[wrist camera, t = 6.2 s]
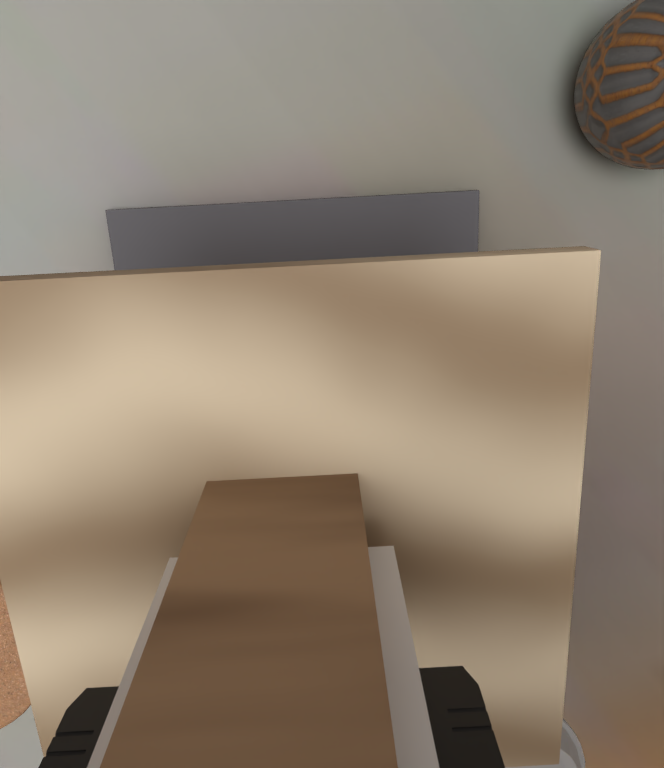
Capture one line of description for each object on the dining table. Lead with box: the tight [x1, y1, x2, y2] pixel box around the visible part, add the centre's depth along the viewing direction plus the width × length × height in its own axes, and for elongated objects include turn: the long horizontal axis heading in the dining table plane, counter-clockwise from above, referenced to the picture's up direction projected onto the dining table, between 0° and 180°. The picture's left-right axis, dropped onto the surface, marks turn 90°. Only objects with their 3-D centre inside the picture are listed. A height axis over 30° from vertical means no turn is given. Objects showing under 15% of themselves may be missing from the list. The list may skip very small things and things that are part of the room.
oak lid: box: [0, 246, 601, 768], centre depth 13 cm, size 16×16×11 cm
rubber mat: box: [105, 190, 479, 270], centre depth 33 cm, size 18×18×1 cm
